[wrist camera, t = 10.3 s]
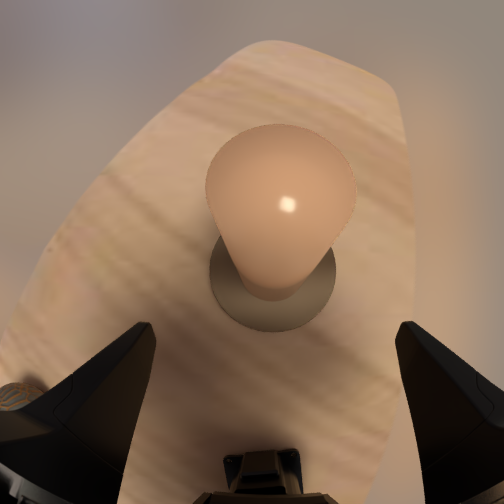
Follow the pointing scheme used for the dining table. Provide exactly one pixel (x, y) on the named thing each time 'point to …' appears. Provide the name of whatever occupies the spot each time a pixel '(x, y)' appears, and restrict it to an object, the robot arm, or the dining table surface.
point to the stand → (265, 312)
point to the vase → (17, 395)
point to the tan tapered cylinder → (279, 204)
